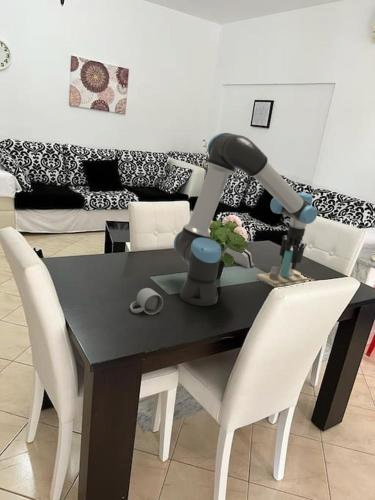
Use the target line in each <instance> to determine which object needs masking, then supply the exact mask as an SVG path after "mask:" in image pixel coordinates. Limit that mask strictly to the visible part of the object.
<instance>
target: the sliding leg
mask: <svg viewBox="0 0 375 500" xmlns="http://www.w3.org/2000/svg"><path fill="white" fill-rule="evenodd" d="M292 256H293V249H292V250H291V249H290V250H289V251H285V254H284V259H283V263H282V264H281V266H282V268H281V267H280V268H281V272H280V274H281V275H283V276H284V277H291V276H292V275H288V271H289V266H290V262H292Z"/></svg>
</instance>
